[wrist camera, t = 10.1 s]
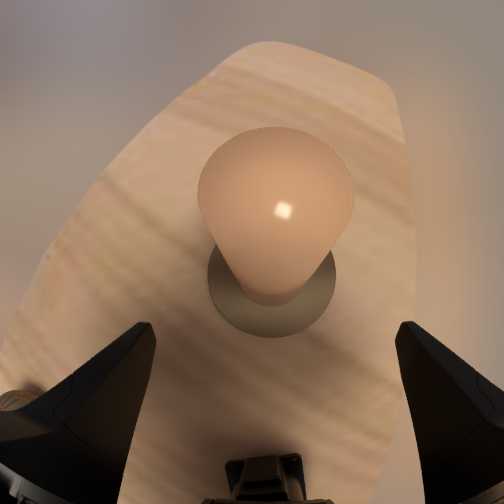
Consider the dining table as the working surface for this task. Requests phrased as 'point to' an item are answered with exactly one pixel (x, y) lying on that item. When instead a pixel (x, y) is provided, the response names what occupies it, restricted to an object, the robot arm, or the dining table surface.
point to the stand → (263, 317)
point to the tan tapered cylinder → (275, 208)
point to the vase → (16, 399)
